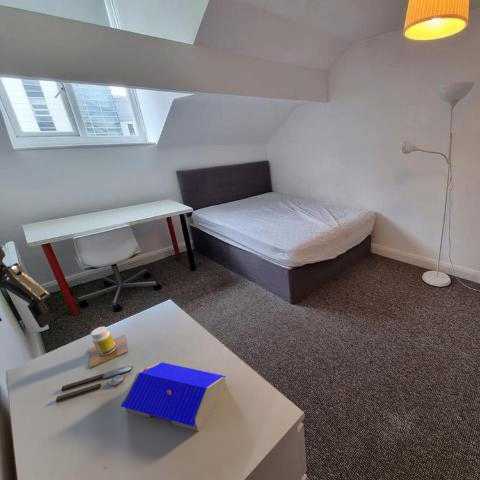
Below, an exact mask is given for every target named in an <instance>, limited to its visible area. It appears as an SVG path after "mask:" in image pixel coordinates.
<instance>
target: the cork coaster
mask: <svg viewBox="0 0 480 480" xmlns="http://www.w3.org/2000/svg"><path fill="white" fill-rule="evenodd" d="M113 340H114V342H115V344H116V349H115V350H114V351H113V352H111V353H109V354H107V355H100V354H99V352H98V351H97V349H96V347H95V346H93V347H90V348H88V361H89V364H88V365H89V367H88V369H92V368H95V367H97V366H99V365H101V364H104V363H107V362H108V361H111V360H113V359H116V358H118V357H121V356H122V355H125V354H127V353H128V352H129V351H128V346H127V341H126V336H125V334H123V335H119V336H117V337H114V338H113Z"/></svg>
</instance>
